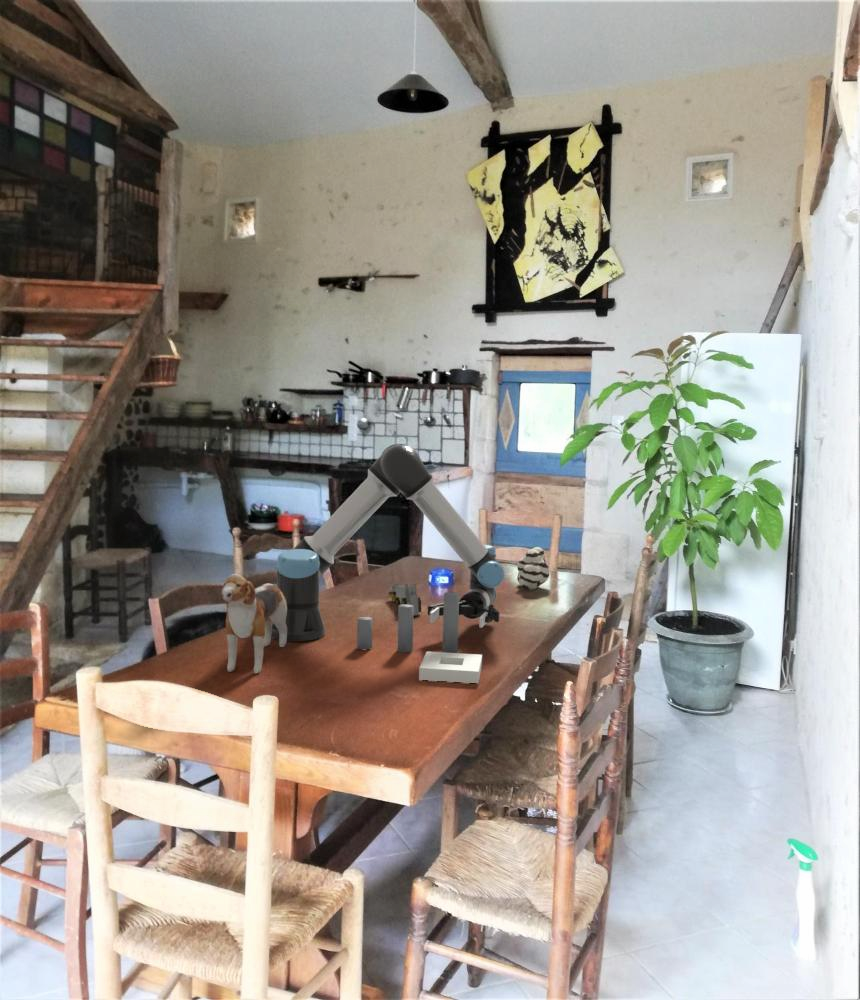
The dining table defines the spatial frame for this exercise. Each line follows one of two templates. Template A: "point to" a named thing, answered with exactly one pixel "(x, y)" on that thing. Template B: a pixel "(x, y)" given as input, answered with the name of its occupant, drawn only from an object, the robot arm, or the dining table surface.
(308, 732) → the dining table surface
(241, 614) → the dog model
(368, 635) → the short dowel
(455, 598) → the tall dowel
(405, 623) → the medium dowel
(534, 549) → the sculpture
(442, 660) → the block
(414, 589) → the toy
